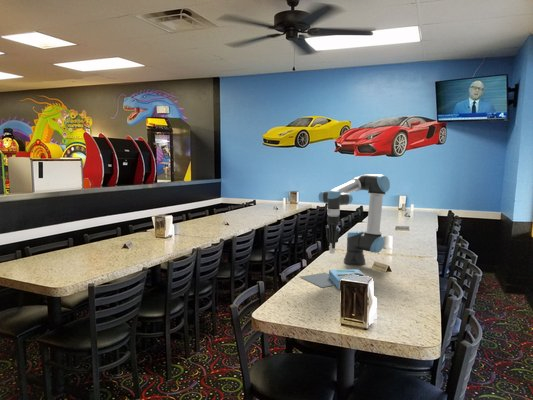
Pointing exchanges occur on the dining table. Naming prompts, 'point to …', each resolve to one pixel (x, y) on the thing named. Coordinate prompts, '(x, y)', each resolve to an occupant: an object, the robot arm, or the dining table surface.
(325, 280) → the mat
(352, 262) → the robot arm
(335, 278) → the gum box
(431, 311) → the dining table surface
